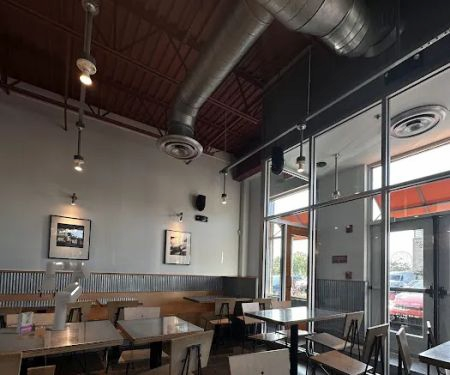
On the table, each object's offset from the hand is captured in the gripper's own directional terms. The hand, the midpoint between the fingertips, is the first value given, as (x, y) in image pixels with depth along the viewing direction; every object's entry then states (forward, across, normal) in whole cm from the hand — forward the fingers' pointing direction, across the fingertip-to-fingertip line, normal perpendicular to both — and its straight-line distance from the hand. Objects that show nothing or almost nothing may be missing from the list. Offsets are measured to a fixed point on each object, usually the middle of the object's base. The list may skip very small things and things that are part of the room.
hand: (47, 297), depth 292 cm
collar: (+27, +2, +10) cm, 29 cm away
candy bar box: (+28, +14, -4) cm, 32 cm away
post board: (+28, +7, +14) cm, 32 cm away
